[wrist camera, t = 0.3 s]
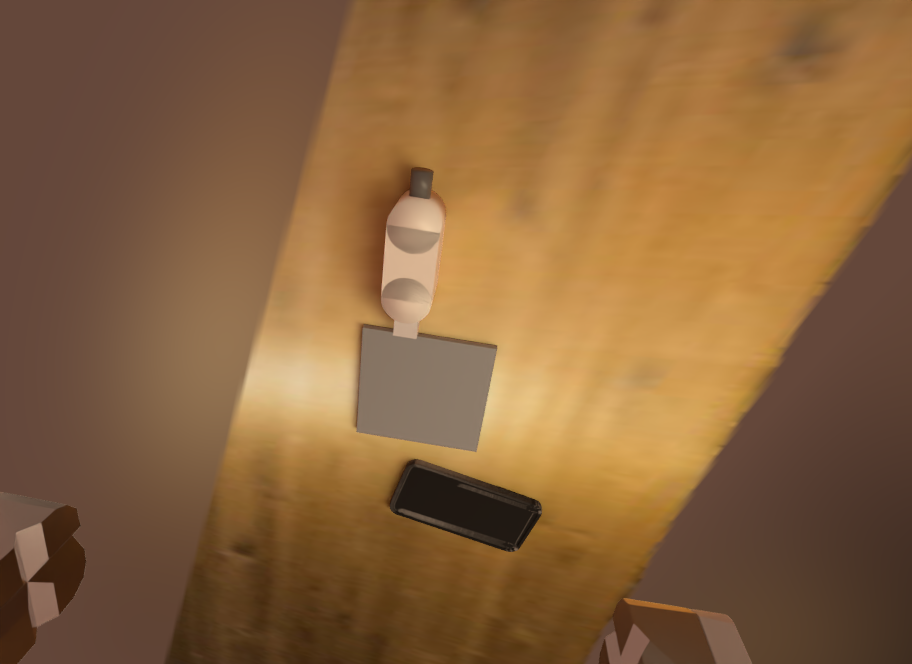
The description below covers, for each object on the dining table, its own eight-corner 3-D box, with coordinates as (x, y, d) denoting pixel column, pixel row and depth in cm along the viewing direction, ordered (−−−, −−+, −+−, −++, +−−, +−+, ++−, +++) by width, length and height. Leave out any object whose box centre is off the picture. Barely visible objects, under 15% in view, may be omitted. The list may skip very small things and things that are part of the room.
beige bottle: (400, 160, 43) (390, 172, 39) (452, 168, 43) (446, 181, 39) (387, 319, 50) (377, 342, 46) (431, 326, 50) (425, 350, 46)
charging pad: (364, 324, 50) (362, 327, 50) (497, 345, 50) (496, 349, 49) (358, 428, 56) (356, 432, 56) (476, 447, 56) (476, 451, 55)
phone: (515, 554, 62) (386, 511, 60) (515, 545, 63) (388, 503, 61) (546, 507, 58) (409, 460, 57) (545, 499, 59) (411, 453, 58)
